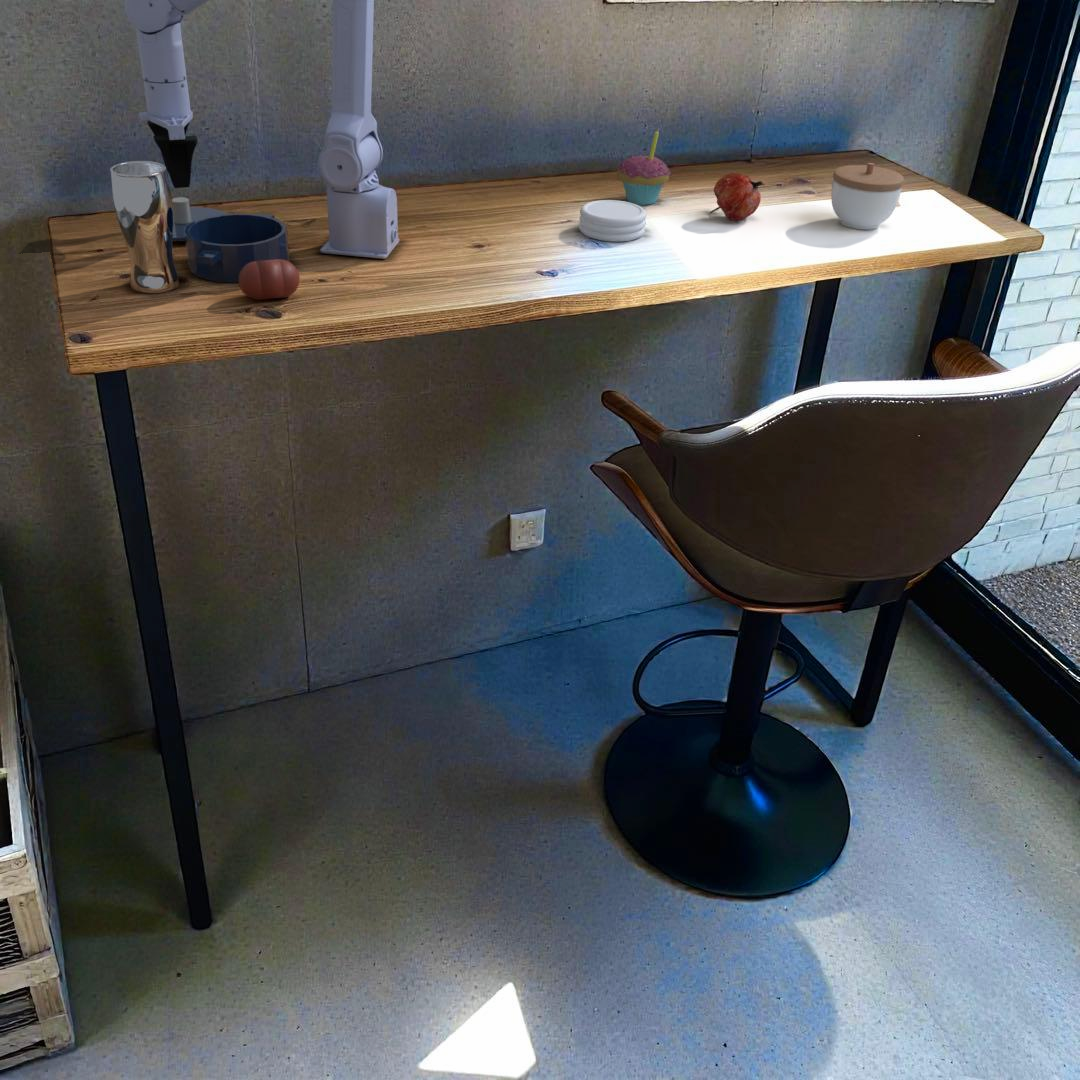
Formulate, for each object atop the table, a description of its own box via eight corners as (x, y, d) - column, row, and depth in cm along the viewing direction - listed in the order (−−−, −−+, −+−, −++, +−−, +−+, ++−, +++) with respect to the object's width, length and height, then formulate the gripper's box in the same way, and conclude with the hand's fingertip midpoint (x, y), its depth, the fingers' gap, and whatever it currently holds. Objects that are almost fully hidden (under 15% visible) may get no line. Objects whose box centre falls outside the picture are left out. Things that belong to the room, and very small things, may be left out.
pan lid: (250, 220, 174) (247, 191, 172) (205, 250, 163) (201, 220, 160) (163, 209, 177) (159, 180, 174) (113, 238, 165) (108, 208, 163)
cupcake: (675, 199, 191) (683, 124, 185) (651, 212, 185) (658, 134, 179) (630, 189, 195) (636, 115, 189) (604, 201, 189) (610, 125, 182)
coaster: (565, 230, 176) (566, 207, 174) (607, 217, 182) (609, 194, 180) (616, 247, 171) (617, 224, 169) (657, 233, 177) (660, 210, 175)
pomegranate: (706, 235, 184) (756, 208, 177) (689, 191, 183) (739, 162, 176) (730, 230, 189) (781, 203, 182) (714, 187, 189) (764, 159, 182)
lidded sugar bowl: (842, 235, 179) (853, 174, 174) (814, 213, 188) (824, 154, 183) (905, 233, 182) (919, 173, 176) (875, 212, 190) (887, 153, 185)
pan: (312, 249, 165) (309, 214, 162) (254, 295, 150) (250, 257, 147) (226, 238, 167) (222, 203, 164) (160, 282, 152) (155, 245, 149)
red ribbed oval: (296, 288, 152) (293, 252, 150) (304, 301, 148) (301, 265, 146) (237, 293, 150) (233, 257, 147) (243, 307, 146) (239, 270, 143)
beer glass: (133, 275, 154) (115, 159, 145) (187, 275, 154) (172, 160, 146) (122, 294, 148) (102, 175, 140) (178, 295, 148) (162, 176, 140)
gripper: (129, 68, 163) (144, 167, 170) (139, 91, 151) (154, 196, 159) (181, 66, 165) (193, 164, 172) (195, 89, 154) (207, 192, 161)
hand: (178, 179), depth 166 cm, fingers open, 7 cm apart
